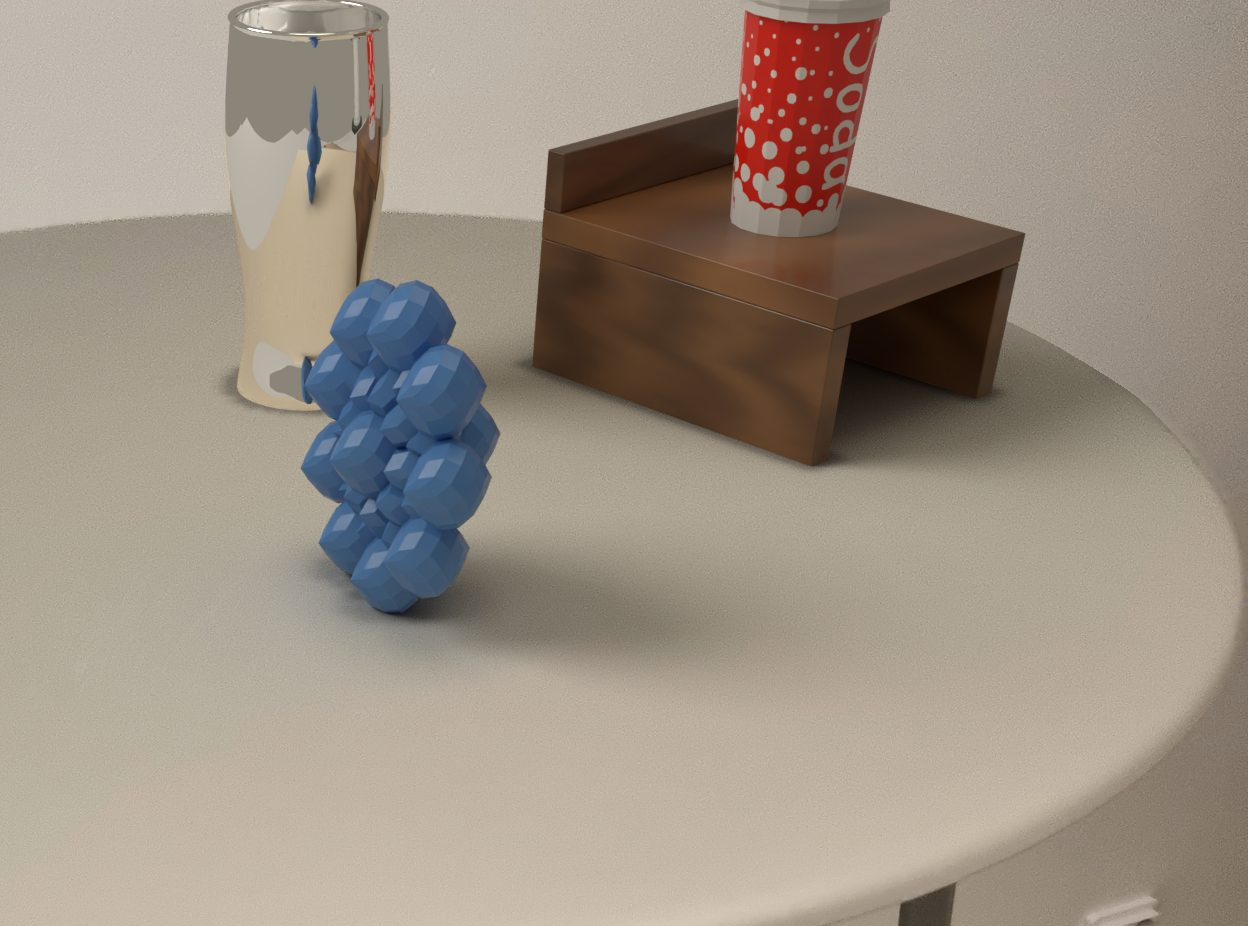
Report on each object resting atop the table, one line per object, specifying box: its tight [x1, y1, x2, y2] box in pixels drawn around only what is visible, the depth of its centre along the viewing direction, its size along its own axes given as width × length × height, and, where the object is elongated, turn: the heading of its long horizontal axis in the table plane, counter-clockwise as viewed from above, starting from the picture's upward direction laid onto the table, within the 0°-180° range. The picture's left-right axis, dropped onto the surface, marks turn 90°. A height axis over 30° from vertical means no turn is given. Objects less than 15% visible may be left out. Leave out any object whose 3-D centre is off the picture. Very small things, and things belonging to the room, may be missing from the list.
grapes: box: [300, 277, 501, 614], centre depth 77 cm, size 12×7×12 cm, turn 23°
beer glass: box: [223, 0, 392, 412], centre depth 93 cm, size 7×7×15 cm
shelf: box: [531, 98, 1026, 467], centre depth 96 cm, size 16×13×9 cm
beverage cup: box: [730, 0, 891, 237], centre depth 89 cm, size 6×6×14 cm
